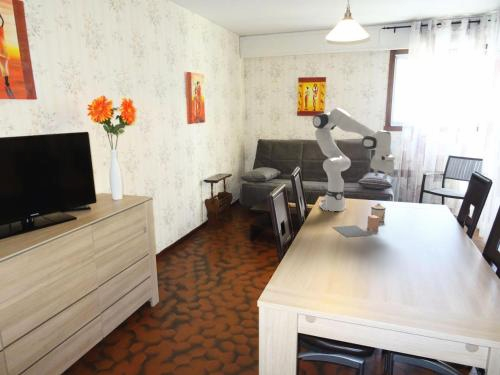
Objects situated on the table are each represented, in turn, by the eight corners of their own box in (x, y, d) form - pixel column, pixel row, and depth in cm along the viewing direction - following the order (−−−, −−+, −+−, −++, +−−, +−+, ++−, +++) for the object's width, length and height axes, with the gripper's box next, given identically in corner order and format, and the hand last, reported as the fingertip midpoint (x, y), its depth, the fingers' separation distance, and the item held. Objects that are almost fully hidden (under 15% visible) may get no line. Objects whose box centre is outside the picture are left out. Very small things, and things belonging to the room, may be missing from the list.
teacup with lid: (384, 222, 227) (386, 205, 224) (370, 221, 230) (371, 204, 227) (384, 217, 238) (385, 201, 235) (370, 216, 241) (371, 200, 238)
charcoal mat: (332, 227, 217) (332, 227, 217) (355, 225, 221) (355, 225, 221) (346, 237, 200) (346, 236, 200) (371, 235, 204) (371, 234, 204)
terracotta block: (367, 228, 216) (368, 215, 215) (373, 227, 217) (374, 215, 216) (371, 230, 212) (372, 218, 210) (378, 230, 213) (379, 217, 211)
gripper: (368, 154, 231) (367, 174, 234) (387, 158, 211) (385, 180, 214) (377, 154, 232) (375, 174, 235) (396, 158, 213) (394, 180, 216)
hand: (380, 177), depth 225 cm, fingers open, 8 cm apart
